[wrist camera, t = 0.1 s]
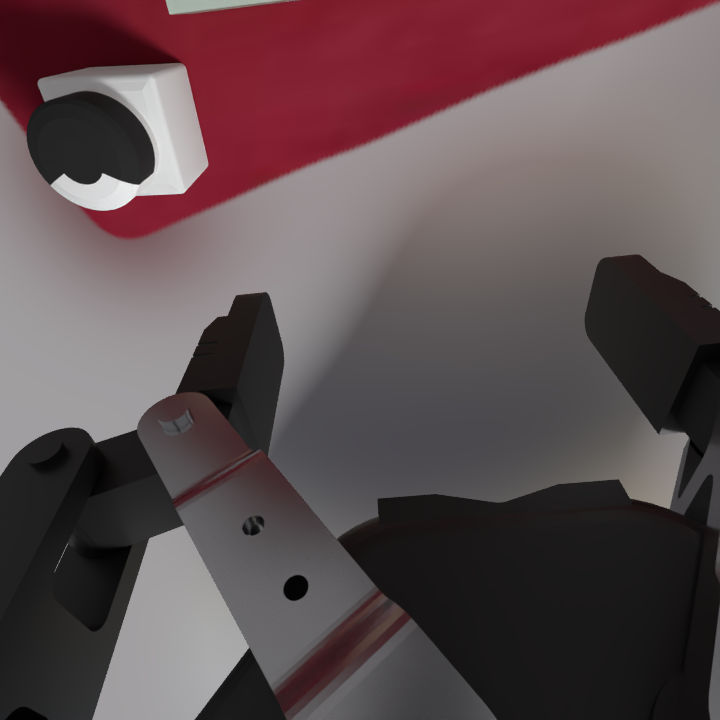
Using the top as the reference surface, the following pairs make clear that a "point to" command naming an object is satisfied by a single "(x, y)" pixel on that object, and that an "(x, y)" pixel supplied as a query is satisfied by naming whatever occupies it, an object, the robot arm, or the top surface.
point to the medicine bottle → (117, 134)
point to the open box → (213, 5)
